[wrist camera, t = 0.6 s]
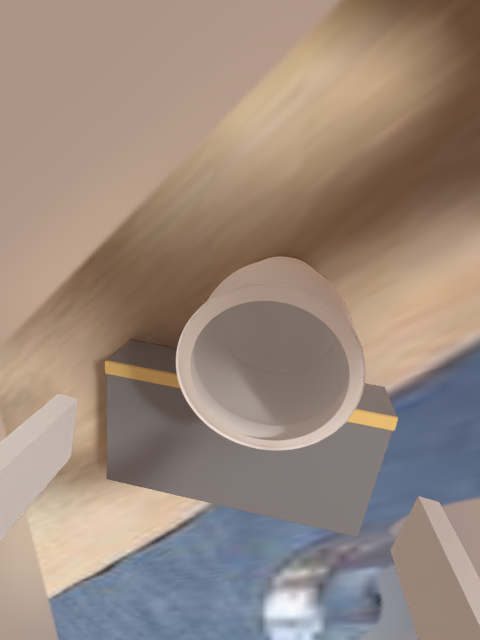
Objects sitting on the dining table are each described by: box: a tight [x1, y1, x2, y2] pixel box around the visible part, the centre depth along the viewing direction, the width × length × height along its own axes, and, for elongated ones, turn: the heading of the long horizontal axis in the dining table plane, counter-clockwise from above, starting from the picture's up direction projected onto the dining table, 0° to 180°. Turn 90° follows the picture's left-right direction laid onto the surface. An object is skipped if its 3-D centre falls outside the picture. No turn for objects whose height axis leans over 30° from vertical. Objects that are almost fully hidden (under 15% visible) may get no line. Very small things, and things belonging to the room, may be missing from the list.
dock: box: [105, 340, 398, 537], centre depth 36 cm, size 26×14×5 cm, turn 83°
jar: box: [176, 256, 365, 451], centre depth 27 cm, size 11×10×15 cm
